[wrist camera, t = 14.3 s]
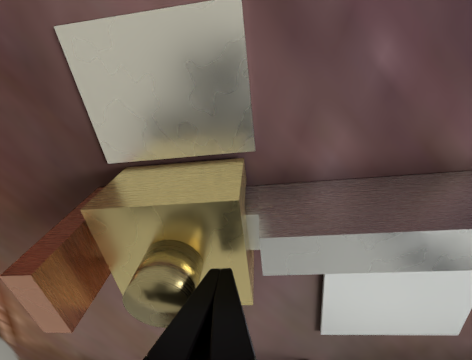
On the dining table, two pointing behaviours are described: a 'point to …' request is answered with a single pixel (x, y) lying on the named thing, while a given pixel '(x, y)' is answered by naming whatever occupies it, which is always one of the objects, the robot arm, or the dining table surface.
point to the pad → (396, 303)
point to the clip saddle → (172, 233)
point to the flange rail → (221, 142)
